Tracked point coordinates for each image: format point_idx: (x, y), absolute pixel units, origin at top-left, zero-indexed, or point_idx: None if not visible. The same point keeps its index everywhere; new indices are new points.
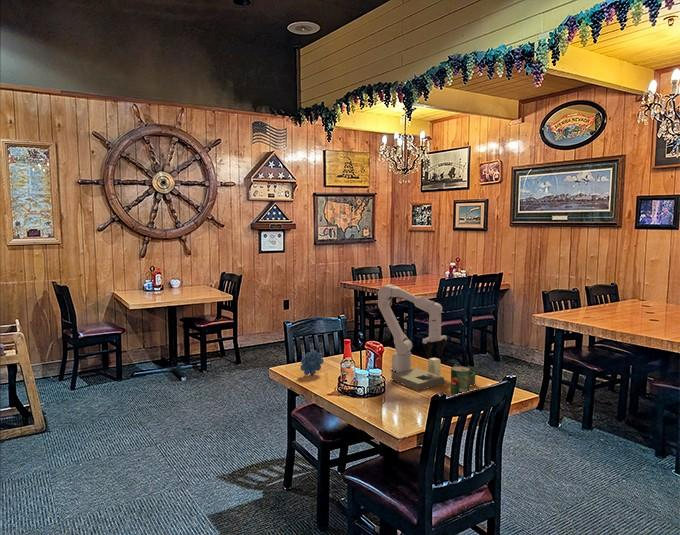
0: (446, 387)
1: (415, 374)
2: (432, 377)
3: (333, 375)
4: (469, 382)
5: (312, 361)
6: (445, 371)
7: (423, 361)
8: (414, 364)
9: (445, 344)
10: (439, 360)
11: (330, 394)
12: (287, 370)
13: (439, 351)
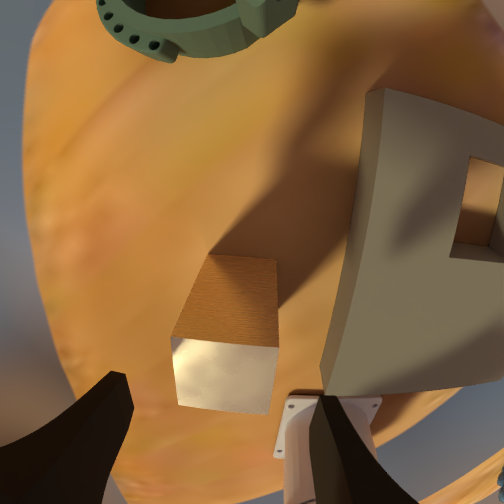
0: (413, 37)
1: (463, 305)
2: (456, 165)
3: (497, 452)
4: None
5: None
6: (105, 289)
7: None
8: (179, 446)
9: (5, 454)
10: (189, 331)
11: None
12: (489, 489)
13: (114, 427)
